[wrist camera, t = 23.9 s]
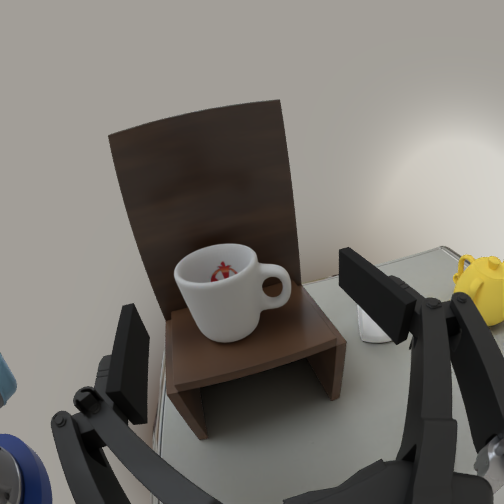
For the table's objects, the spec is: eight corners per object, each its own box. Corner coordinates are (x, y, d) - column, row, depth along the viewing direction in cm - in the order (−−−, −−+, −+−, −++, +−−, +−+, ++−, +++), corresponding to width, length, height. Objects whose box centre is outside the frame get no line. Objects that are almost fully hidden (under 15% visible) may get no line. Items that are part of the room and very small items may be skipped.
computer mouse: (387, 294, 47) (391, 265, 44) (399, 344, 35) (406, 313, 33) (355, 295, 48) (356, 267, 46) (359, 346, 37) (363, 315, 35)
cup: (292, 298, 32) (285, 235, 28) (296, 347, 24) (290, 276, 21) (203, 306, 33) (185, 247, 29) (188, 353, 26) (161, 288, 22)
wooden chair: (339, 397, 30) (339, 81, 15) (199, 440, 27) (60, 135, 12) (302, 336, 42) (276, 100, 27) (189, 367, 39) (110, 135, 24)
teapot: (515, 342, 26) (540, 286, 21) (452, 338, 33) (472, 279, 28) (500, 293, 37) (514, 244, 32) (446, 288, 44) (457, 236, 39)
